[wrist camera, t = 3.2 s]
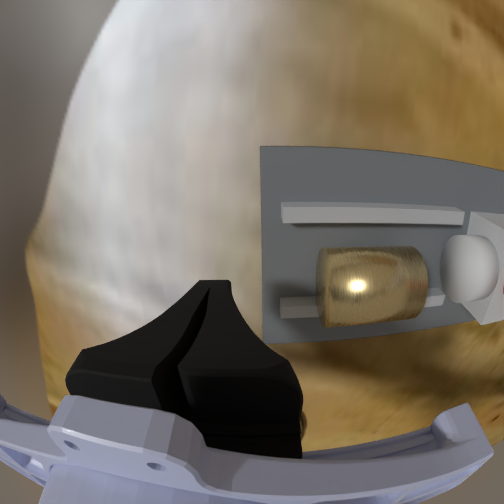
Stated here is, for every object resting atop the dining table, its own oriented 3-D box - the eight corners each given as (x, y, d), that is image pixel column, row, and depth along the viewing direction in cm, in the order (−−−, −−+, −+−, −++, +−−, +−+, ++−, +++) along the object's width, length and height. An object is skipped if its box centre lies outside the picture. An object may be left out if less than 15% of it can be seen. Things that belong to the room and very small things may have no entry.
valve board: (505, 171, 14) (563, 193, 9) (472, 312, 19) (509, 356, 13) (259, 146, 14) (263, 155, 9) (262, 334, 19) (265, 404, 14)
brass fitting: (407, 230, 14) (437, 285, 11) (388, 280, 17) (407, 333, 14) (321, 230, 14) (338, 292, 11) (312, 284, 17) (323, 342, 14)
